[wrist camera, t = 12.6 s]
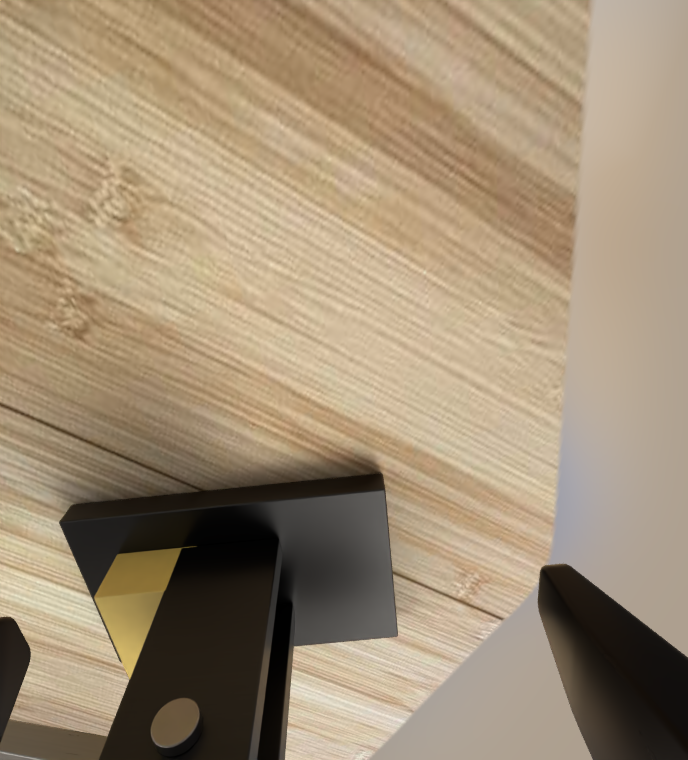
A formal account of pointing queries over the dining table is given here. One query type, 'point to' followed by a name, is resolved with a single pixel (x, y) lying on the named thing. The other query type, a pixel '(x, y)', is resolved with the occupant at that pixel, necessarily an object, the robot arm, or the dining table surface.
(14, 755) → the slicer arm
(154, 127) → the dining table surface
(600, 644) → the robot arm
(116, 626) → the butter
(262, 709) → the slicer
